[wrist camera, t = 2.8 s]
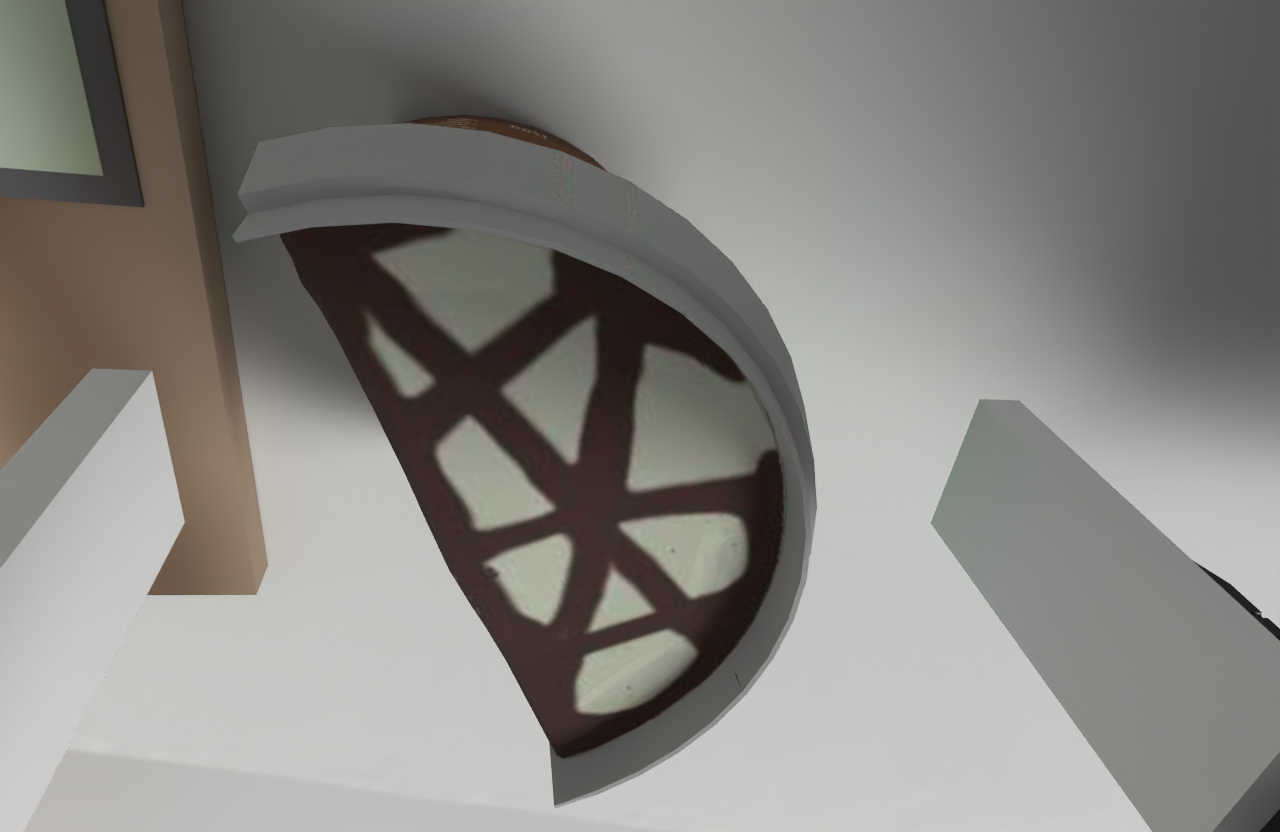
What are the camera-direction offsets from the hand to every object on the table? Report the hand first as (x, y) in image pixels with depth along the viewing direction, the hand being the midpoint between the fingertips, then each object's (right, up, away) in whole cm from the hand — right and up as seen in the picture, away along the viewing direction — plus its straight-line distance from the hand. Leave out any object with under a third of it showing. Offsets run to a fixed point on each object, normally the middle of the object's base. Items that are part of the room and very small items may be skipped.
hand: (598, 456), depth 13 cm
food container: (-1, +4, +7) cm, 8 cm away
